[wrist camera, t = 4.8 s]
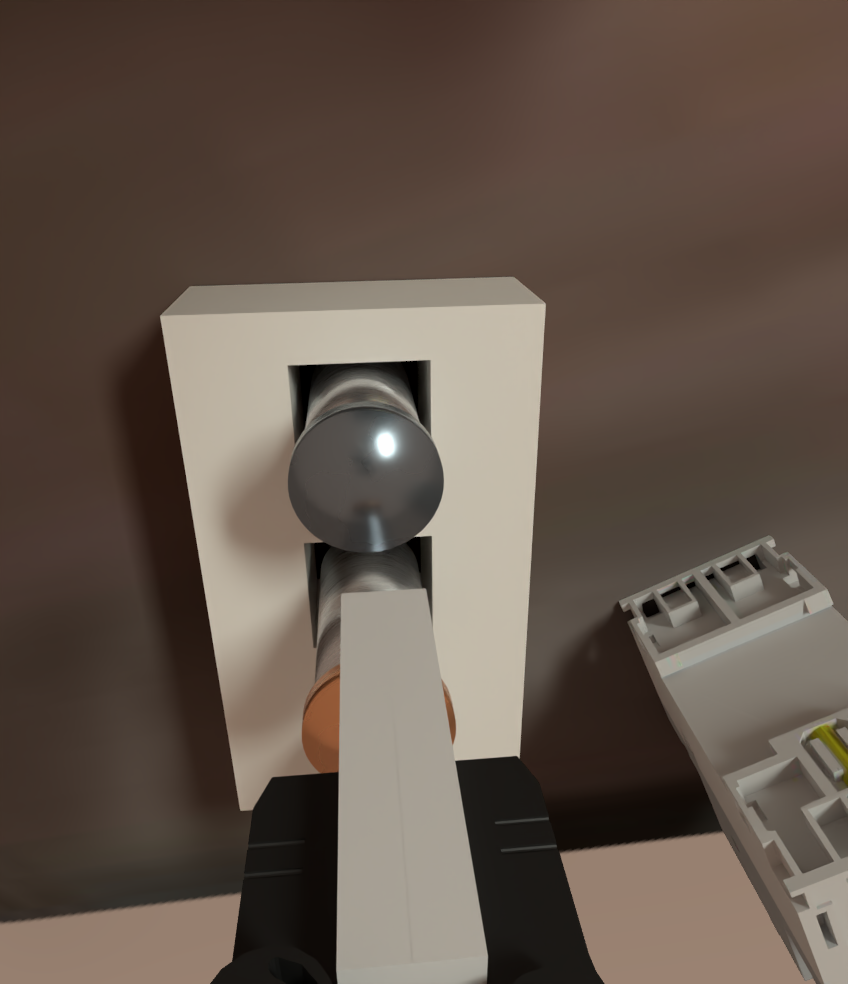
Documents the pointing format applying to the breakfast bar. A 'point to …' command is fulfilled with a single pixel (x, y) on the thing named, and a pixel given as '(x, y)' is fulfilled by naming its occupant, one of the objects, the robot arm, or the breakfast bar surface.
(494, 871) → the robot arm
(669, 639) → the circuit breaker
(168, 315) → the panel
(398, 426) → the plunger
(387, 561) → the plunger mid
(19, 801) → the breakfast bar surface
